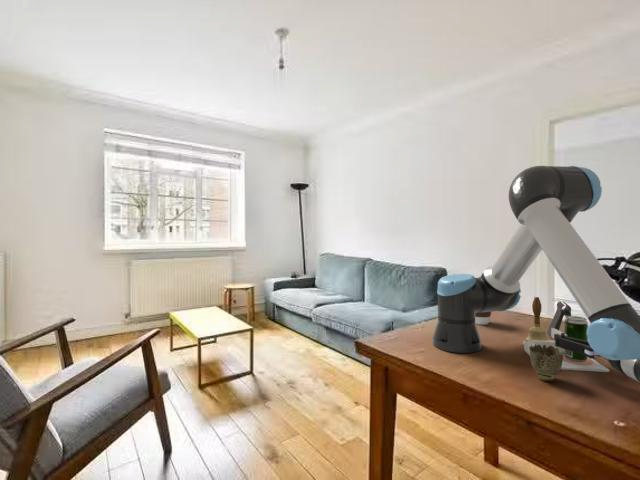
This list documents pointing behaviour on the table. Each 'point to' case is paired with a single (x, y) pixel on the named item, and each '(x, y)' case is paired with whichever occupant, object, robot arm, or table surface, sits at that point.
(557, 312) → the phone stand
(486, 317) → the coffee cup
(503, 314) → the table surface
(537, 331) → the hand bell
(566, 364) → the tray
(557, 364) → the cup
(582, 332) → the beer can
